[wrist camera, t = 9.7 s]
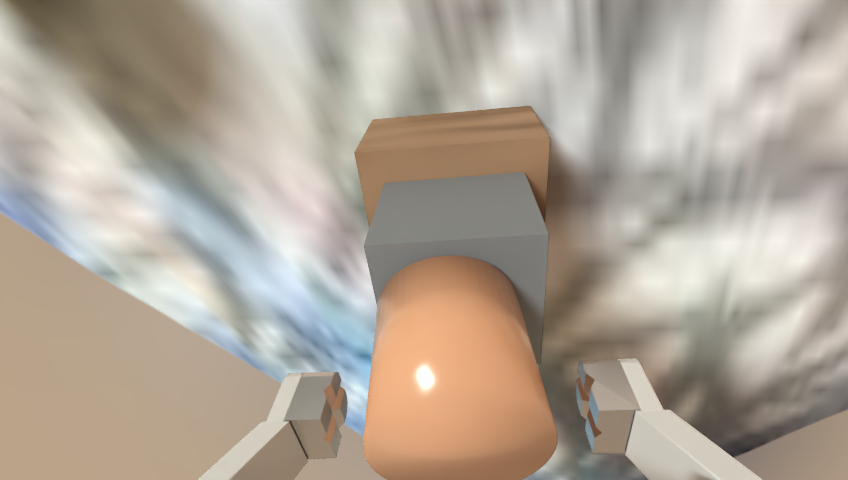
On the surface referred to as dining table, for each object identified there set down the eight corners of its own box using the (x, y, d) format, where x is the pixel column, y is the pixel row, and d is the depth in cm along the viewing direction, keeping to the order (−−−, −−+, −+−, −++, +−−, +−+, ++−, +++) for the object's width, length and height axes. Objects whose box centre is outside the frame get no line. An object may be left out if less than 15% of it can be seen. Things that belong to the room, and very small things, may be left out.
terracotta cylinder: (367, 261, 13) (346, 398, 9) (521, 250, 13) (568, 383, 9) (387, 360, 16) (377, 498, 12) (514, 352, 16) (547, 488, 12)
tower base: (373, 118, 21) (354, 152, 17) (529, 104, 21) (549, 137, 16) (394, 247, 26) (383, 299, 21) (525, 239, 25) (540, 292, 21)
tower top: (383, 182, 18) (364, 245, 14) (524, 171, 17) (549, 234, 13) (402, 290, 21) (390, 368, 17) (521, 284, 20) (540, 363, 16)
